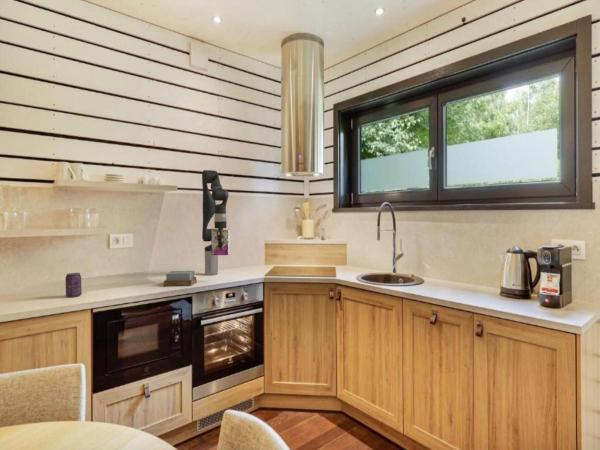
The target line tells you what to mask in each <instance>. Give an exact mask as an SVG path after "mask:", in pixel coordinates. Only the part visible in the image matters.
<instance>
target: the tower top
mask: <svg viewBox="0 0 600 450" xmlns="http://www.w3.org/2000/svg"><path fill="white" fill-rule="evenodd" d="M165 275H166V276H165V278H166V279H165V280H191V279H192V278H194V277H195V270H171V271H170V272H167V273H165Z"/></svg>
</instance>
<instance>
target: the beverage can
mask: <svg viewBox="0 0 600 450" xmlns="http://www.w3.org/2000/svg"><path fill="white" fill-rule="evenodd" d="M82 292H83V291H82V275H81V273H80V272H71V273H66V275H65V296H66V297H68V298H76V297H80V296H81V295H82V294H83V293H82Z"/></svg>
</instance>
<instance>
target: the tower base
mask: <svg viewBox="0 0 600 450" xmlns="http://www.w3.org/2000/svg"><path fill="white" fill-rule="evenodd" d="M196 283H197V276H194V278H192V279H191V280H166V279H165V280H163V287H165V288H166V287H192V286H193V285H194V284H196Z"/></svg>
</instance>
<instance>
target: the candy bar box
mask: <svg viewBox="0 0 600 450" xmlns="http://www.w3.org/2000/svg"><path fill="white" fill-rule="evenodd" d="M212 229H213V230H211V241H210V242H211V244H210V245H211V255H218V256H230V255H231V229H227V228H223V229H222V235H223V238H222V248H219V247H218V241H217V232H218V228H212ZM222 235H221V237H222ZM219 239H220V238H219Z"/></svg>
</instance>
